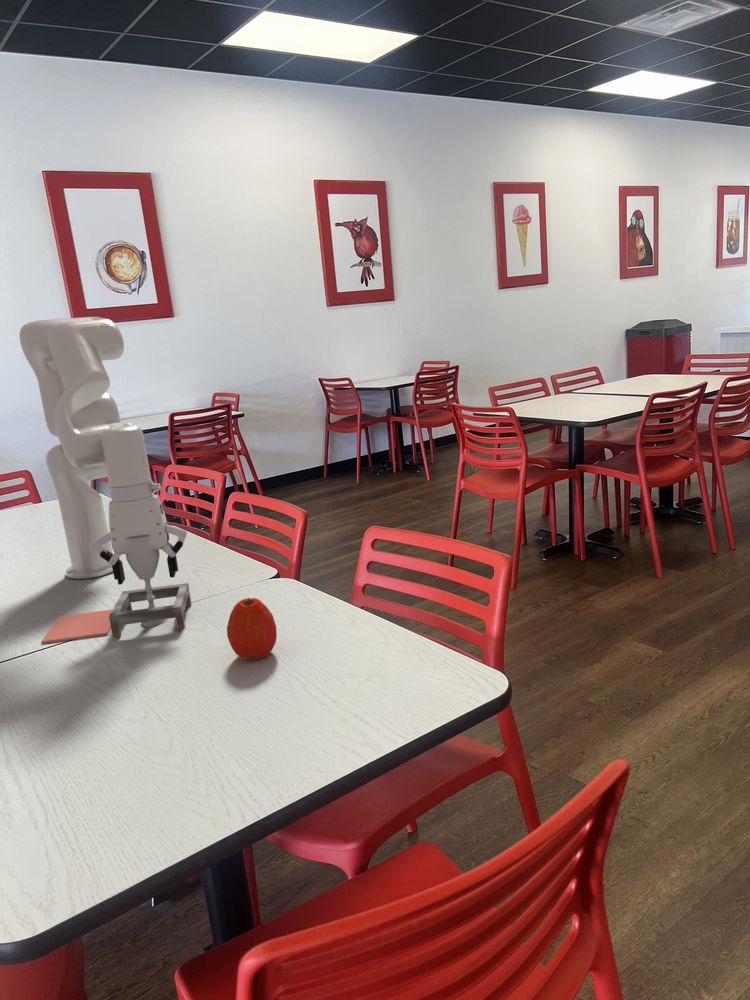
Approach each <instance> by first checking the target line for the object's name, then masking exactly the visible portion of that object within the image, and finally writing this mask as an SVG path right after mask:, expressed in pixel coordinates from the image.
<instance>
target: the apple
mask: <svg viewBox="0 0 750 1000" xmlns="http://www.w3.org/2000/svg"><path fill="white" fill-rule="evenodd" d="M230 612H231V613H230V615H229V618H228V621H227V625H226V634H227V635H226V636H227V639H228V642H229V645H230V647H231V649H232V650H233V652H234V653H235V654H236V655H237V656H238V657H239V658H241V659H244V660H256V659H261V658H264V657H267V656H268V655H269V654H270V653H271V652H272V651H273V649H274V647H275V645H276V643H277V637H278V635H277V624H276V622H275V618H274V616H273V613H272V612H271V611H270V609H269V608H268V607H267V605H265V603H264V602H262V601H261V600H260V599H259V598H257V597H254V598H250V597H247V598H243V599H241V600H239V601H238V602H236V604H235V605H234V606H233V608H232V610H231V611H230Z"/></svg>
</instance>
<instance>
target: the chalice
mask: <svg viewBox="0 0 750 1000" xmlns="http://www.w3.org/2000/svg"><path fill="white" fill-rule="evenodd" d="M150 536H151V535H150ZM150 536H146V537H141V538H134V539H126V540H127V541H128V542H129V543H130V553H128V554H125V558H126V559H125V560H126V561H127V563H128V565H129V566H130V569H132V571H133V572H134V573H135V575H136V576H137V578H138V580H141V581H142V580H143V581H144V585H145V586H144V587H145V588H143V589H144V590H145V591H146V592H147V597H146V599H147V600H146V601H147V603H148V607H147V608H155V607H157V606H156V605H155V603H154V601H155V599H154V598H155V596H153V594H152V589H153V586H152V584H151V579H153V578H154V577H155V574H156V571H157V568H158V565H159V562H160V561H159V560H160V556H161V555H160V549H159V550H151V549H150V546H149V544H148V542H147V541H148V539H149V538H150ZM124 539H125V538H124ZM167 621H168V619H163V620H155V621H148V622H140V625H141V626H144V627H154V626H158V625H161V624H163V623H165V622H167Z"/></svg>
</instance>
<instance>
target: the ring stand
mask: <svg viewBox="0 0 750 1000" xmlns="http://www.w3.org/2000/svg"><path fill="white" fill-rule="evenodd" d="M189 586H190V585H189V582H187V583H178V584H176V583H175V584H170V585H169V584H168V585H162V586H155V587H153V586H152V587H153V589H152V594H153V596H155V598H154V600H159V599H167V598H172V597H173V598H174V597H175V600H174V603H173V605H164V606H156V607H155V608H148V607H147V608H141V609H134V610H133V607H132V603H135V602H136V603H137V602H143V601H148V600H147V599H146V597H147V592H146V591H145V590H144V589H145V588H140V589H131V590H125V591H122V592H121V594H120V595H119V597H118V599H117V601H116V603H115V604H114V606H113V608H112V609H113V610H112V609H111V610H112V612H111V614H110V615H109V620H110V625H111V630H110V631H111V634H112V639H113V640H118V639H120V638H121V637H122V634H121V633H122V632H121V628H120V627H121V626H124V625H131V624H139V623H140V624H141V622H148V621H155V620H163V619H167V620H170V619H175V620H176V621H175V622H176V627H177V631H184V630H185V628H186V624H185V618H184V612H185V609H186V607H192V599H191V593H190V588H189Z"/></svg>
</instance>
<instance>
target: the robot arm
mask: <svg viewBox="0 0 750 1000" xmlns="http://www.w3.org/2000/svg"><path fill="white" fill-rule="evenodd" d="M19 340H20V342H19V343H20V346H21V350H22V353H23V355H24V356H25V357H24V358H26V360H27V363H28V364H29V366H30V367H31V369H32V371H33V372H34V374H35V377H36V380H37V382H38V389H39V392H40V399H41V404H42V409H43V414H44V419H45V423H46V424H45V425H46V427H47V430H48V432H49V433H50V434H51V435H52V436H53V437H56V438H58V440H59V443H60V444H58V445H54V447H52V448H50V450H48V451H47V453H46V457H45V461H46V462H45V463H46V466H47V470H48V472H49V475H50V478H51V481H52V483H53V486H54V489H55V492H56V497H57V500H58V504H59V508H60V509H59V510H60V514H61V519H62V523H63V525H62V526H63V528H64V534H65V539H66V544H67V550H68V554H69V559H70V564H71V566H69V567H67V569H65V575H66V577H67V578H69V579H74V580H83V579H84V580H85V579H92V578H97V577H98V578H99V577H103V576H104V575H108V574H111V573H112V574H113V579H114V580H117V584H118V586H121V585H122V584H124V582H125V581H126V577H125V572H124V570H125V569H124V564H123V561H122V559H121V560H120V557H121V556H122V555H126V554H128V553H130V543H129V542H128V541H127V540H126V539H134V538H141V537H146V536H150V535H151V536H150V538H149V539H148V541H147V542H148V544H149V546H150V549H151V550H159V551H160V550H161V551H163V552H164V553H165V554H166V555H167V558H166V562H167V568H168V574H169V578H171V579H172V578H175V577H176V572H178V571H179V567H178V560H177V559H178V558H177V554H178V552H180V550H181V549H182V547H183V545H184V542H185V541H186V537H187V535H188V531H187V530H185V529H183V528H179V527H177V526H174V525H170V524H168V523H167V518H166V514H165V510H164V507H163V504H162V502H161V499H160V497H159V495H158V494H155V492H158V491H161V490H162V489H161V488H162V487H161V483H160V482H159V483H156V482H154V481H153V479H152V477H151V476H152V475H151V472H150V465H149V460H148V454H147V447H146V441H145V436H144V432H143V430H142V429H141V427H139V426H137V425H134V424H133V423H131V422H130V421H129V422H128V421H121V418H120V411H119V408H118V405H117V403H116V400H115V399H114V398H113V396H112V395H111V394H110V393H108V390H109V388H110V385H111V384H110V383H111V380H110V377H109V375H108V372H107V371H106V367H105V366H104V364H103V361H109V360H110V361H112V360H117V359H120V358H122V355H123V354H124V351H125V341H124V338H123V334H122V332H121V330H120V329H119V326H118V325H117V324H116V323H115V322H114V321H113V320H111V319H109V318H104V317H100V316H86V317H85V316H84V317H68V318H53V319H51V318H50V319H49V318H48V319H39V320H34V321H31V322H27V323H25V324H24V325H23V326H21V328H20V330H19ZM104 478H107V480H108V486H109V491H110V492H109V493H110V497H111V500H110V501H109V503H108V523H109V529H108V524H107V519H106V512H105V507H104V501H103V498H102V496H101V494H100V493H99V492H98V491H97V490H96V489H94V488H93V487H92V486H91V485H89V484H88V482H90V481H93V480H97V479H104ZM170 534H171V535H173V536H176V537H177V542H176V543H175V544H174V545H173V544H172V543H170V542H169V541H170ZM124 538H125V539H124ZM113 552H114V553H113Z"/></svg>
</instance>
